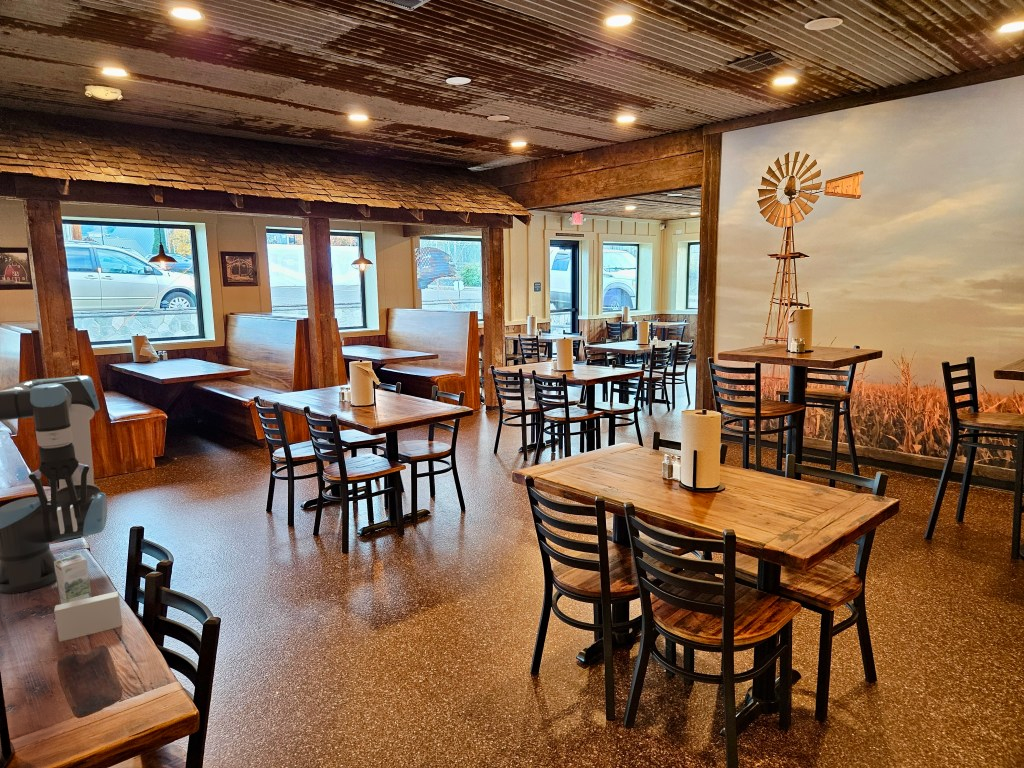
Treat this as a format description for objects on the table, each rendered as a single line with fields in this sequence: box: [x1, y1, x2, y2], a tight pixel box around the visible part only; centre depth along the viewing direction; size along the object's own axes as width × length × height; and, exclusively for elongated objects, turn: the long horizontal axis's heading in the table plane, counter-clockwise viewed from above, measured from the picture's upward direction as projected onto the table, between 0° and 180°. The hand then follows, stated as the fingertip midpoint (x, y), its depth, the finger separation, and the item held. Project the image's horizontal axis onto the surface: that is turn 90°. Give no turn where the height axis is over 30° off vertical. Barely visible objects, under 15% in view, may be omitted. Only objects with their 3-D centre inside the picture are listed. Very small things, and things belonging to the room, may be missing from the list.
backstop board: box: [53, 590, 123, 643], centre depth 162 cm, size 3×13×8 cm, turn 120°
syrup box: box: [54, 553, 93, 604], centre depth 171 cm, size 6×6×14 cm
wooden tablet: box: [57, 644, 123, 718], centre depth 143 cm, size 26×2×10 cm
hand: (69, 530), depth 175 cm, fingers open, 2 cm apart
